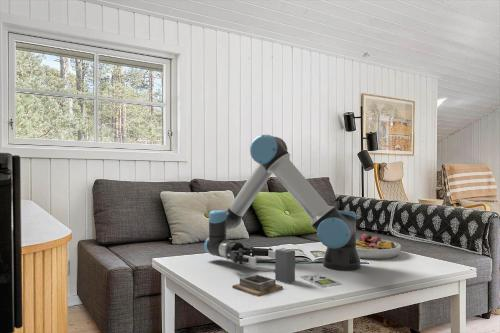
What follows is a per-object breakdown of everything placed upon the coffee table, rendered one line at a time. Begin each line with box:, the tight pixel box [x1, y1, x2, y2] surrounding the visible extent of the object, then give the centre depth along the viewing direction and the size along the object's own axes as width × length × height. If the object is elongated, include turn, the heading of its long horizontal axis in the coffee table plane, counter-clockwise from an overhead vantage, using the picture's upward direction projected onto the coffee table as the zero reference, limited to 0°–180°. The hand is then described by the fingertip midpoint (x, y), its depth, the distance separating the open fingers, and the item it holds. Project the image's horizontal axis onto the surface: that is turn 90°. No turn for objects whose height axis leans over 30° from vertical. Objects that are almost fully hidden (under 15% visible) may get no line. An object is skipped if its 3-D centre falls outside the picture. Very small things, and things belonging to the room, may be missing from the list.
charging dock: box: [232, 274, 283, 297], centre depth 136 cm, size 12×12×3 cm
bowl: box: [356, 233, 402, 260], centre depth 193 cm, size 30×30×8 cm
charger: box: [274, 248, 296, 284], centre depth 146 cm, size 4×6×11 cm
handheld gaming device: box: [299, 273, 342, 288], centre depth 146 cm, size 9×1×15 cm
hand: (268, 259), depth 151 cm, fingers open, 13 cm apart
